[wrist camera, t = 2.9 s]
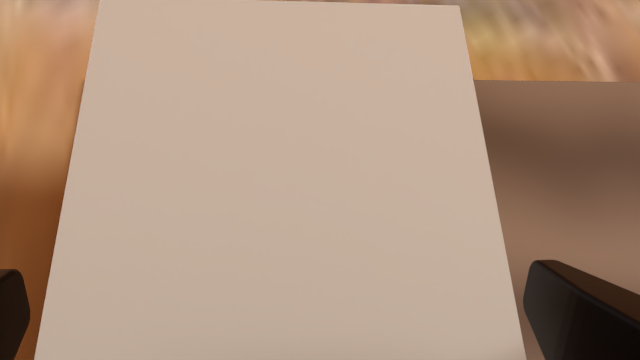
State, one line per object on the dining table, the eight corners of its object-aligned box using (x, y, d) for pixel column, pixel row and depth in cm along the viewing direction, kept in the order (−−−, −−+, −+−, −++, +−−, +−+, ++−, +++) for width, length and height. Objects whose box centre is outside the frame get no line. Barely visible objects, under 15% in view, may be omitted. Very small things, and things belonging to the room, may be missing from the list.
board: (823, 582, 15) (839, 587, 15) (4, 643, 14) (-6, 650, 13) (648, 89, 23) (655, 82, 22) (99, 82, 21) (94, 74, 20)
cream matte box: (382, 393, 16) (530, 379, 7) (180, 401, 16) (27, 396, 6) (367, 208, 19) (458, 5, 9) (193, 209, 18) (100, -4, 9)
